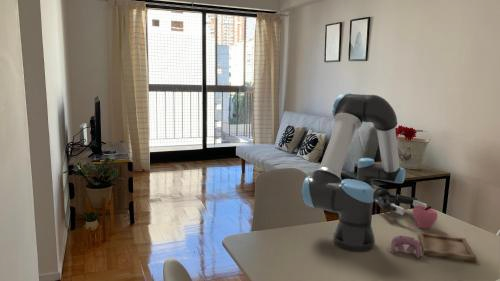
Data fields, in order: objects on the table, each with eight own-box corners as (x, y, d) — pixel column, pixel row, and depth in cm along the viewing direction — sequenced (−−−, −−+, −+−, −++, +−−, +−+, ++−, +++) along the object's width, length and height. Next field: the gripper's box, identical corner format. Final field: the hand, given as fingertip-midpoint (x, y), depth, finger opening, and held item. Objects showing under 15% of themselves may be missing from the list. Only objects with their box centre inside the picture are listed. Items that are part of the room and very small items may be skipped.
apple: (433, 224, 161) (435, 202, 159) (438, 233, 152) (441, 209, 151) (409, 222, 163) (411, 200, 161) (413, 230, 155) (415, 207, 153)
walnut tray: (423, 255, 133) (424, 250, 133) (418, 237, 148) (419, 232, 148) (475, 262, 128) (475, 257, 128) (464, 243, 143) (465, 238, 143)
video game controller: (420, 259, 134) (421, 239, 136) (420, 258, 130) (422, 238, 132) (390, 253, 138) (392, 233, 140) (389, 252, 134) (392, 232, 136)
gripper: (396, 199, 187) (434, 213, 168) (357, 206, 176) (392, 222, 157) (398, 184, 185) (435, 197, 167) (358, 190, 175) (393, 205, 156)
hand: (414, 209), depth 162 cm, fingers open, 13 cm apart
